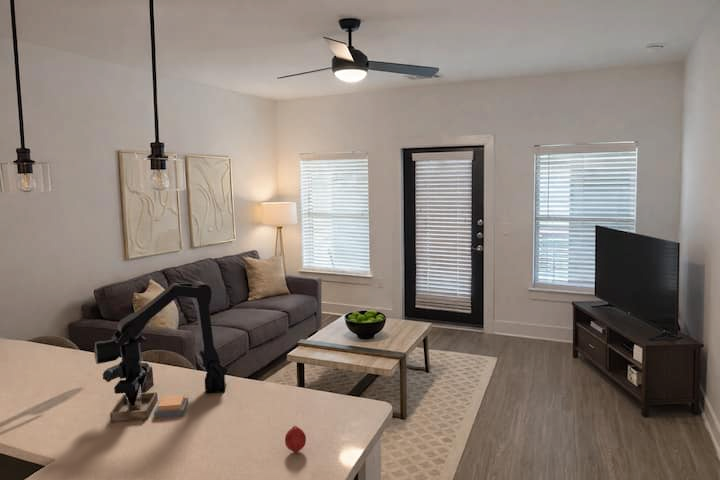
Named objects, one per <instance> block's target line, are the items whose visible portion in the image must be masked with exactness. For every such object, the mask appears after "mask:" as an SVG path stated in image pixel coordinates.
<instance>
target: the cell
mask: <svg viewBox="0 0 720 480" xmlns="http://www.w3.org/2000/svg"><path fill="white" fill-rule="evenodd" d="M138 385H140V384H138ZM141 393H142V391H141V385H140V389H139V392H138V395H137V399H136V402H135V405H134V406H131V405H130V403H129V400H128V398H127V408H128V409H129V410H135V409H138V408H140V407H142V398H141Z"/></svg>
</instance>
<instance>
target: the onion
mask: <svg viewBox="0 0 720 480" xmlns="http://www.w3.org/2000/svg"><path fill="white" fill-rule="evenodd" d="M306 442H307V437H306V434H305V431H304V430H303V429H301V428H300V427H298V426H297V425H293V426H292V428H290V429H289V430H288V431H287V432H286V434H285V436H284V444H285V447H286V448H287V449H288V450H289V451H292V452H293V453H295V454H297V453H299V452H300V451H301V450H302V449H303V448H304V447H305V445H306Z"/></svg>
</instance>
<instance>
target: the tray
mask: <svg viewBox="0 0 720 480" xmlns="http://www.w3.org/2000/svg"><path fill="white" fill-rule="evenodd" d="M141 398H142V407H140V408H138V409H135V410H129V409H128V408H127V396H126V394H125V393H123V395H122V396H121V397H120V399H118V401H117V403H116V404H115V406H114V407H113V408H112V410H111V411H110V413H109V415H110V416H109V417H110V423H121V422H124V423H125V422H133V421H146V420H148V419H149V418H150V416H151V414H152V412H153V409H154V408H155V407H156V404H157V403H158V391H153V392H152V391H151V392H141Z"/></svg>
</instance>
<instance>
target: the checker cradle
mask: <svg viewBox="0 0 720 480" xmlns="http://www.w3.org/2000/svg"><path fill="white" fill-rule="evenodd" d="M160 401H161V399H160V400H159V402H158V404H157V406H156V408H155V409H154V411H153V415H154V417H153V418H154V419H162V418H163V419H164V418H174V417H184V416H185V413H186V411H187V409H188V407H189V397H185V402H184V404H183V406H182V409H178V410H165V411H158V405H159V403H160Z"/></svg>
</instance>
